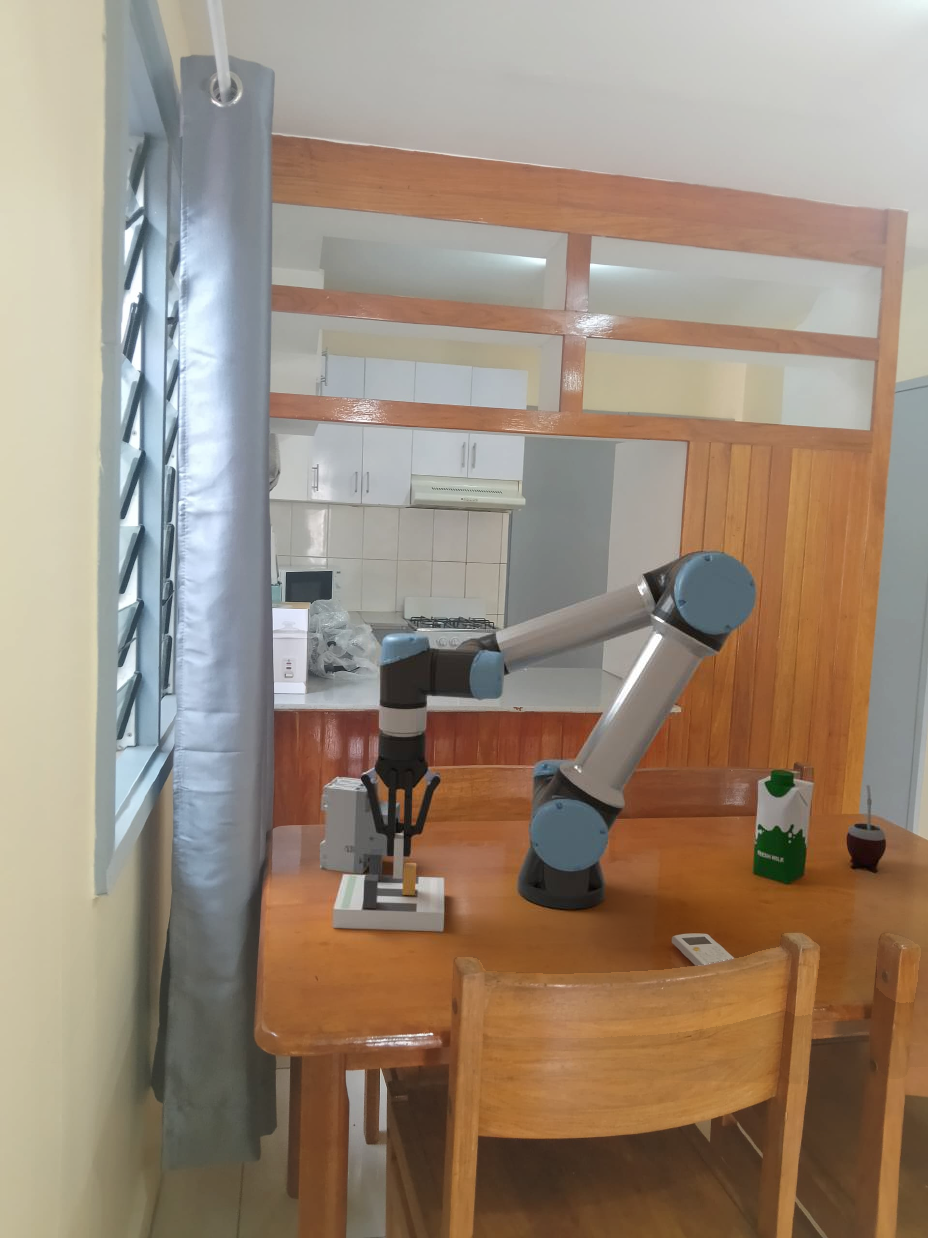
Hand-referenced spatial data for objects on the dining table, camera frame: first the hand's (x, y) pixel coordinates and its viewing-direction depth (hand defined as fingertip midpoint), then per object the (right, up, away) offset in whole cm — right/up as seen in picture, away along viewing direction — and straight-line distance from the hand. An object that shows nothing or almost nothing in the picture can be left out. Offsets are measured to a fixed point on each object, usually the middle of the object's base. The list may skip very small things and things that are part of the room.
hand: (398, 875), depth 143 cm
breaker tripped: (+2, -3, 0) cm, 3 cm away
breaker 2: (-4, -3, -5) cm, 7 cm away
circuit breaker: (-8, -4, +19) cm, 21 cm away
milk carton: (+70, -7, +25) cm, 75 cm away
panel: (-1, -6, +1) cm, 6 cm away
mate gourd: (+89, -7, +31) cm, 95 cm away
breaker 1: (-4, -2, +6) cm, 7 cm away
